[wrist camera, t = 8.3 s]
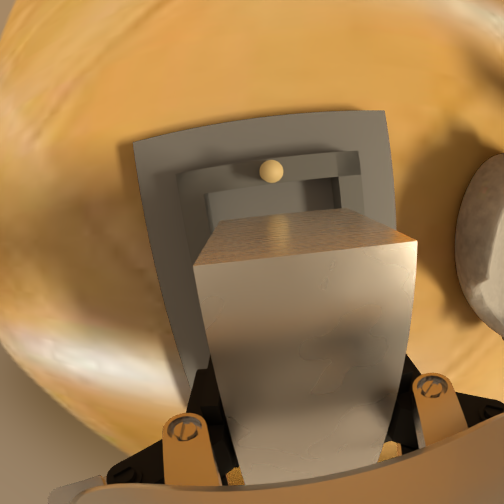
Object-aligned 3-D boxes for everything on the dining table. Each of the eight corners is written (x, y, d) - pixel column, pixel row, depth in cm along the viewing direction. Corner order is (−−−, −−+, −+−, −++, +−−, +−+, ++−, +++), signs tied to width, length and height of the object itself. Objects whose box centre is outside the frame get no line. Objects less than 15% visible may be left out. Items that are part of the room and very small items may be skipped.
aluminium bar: (346, 207, 10) (417, 240, 5) (340, 423, 13) (362, 499, 8) (219, 220, 10) (192, 265, 6) (254, 435, 13) (255, 515, 8)
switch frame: (378, 386, 21) (396, 421, 17) (206, 411, 21) (199, 450, 17) (374, 114, 15) (406, 101, 11) (142, 144, 16) (111, 138, 12)
